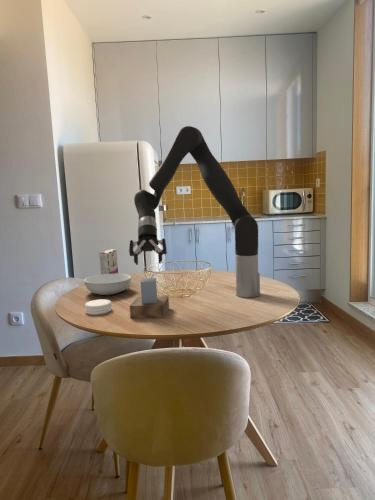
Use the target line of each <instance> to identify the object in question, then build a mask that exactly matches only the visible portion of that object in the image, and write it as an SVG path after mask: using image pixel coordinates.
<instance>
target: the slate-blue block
mask: <svg viewBox="0 0 375 500" xmlns="http://www.w3.org/2000/svg"><path fill="white" fill-rule="evenodd" d="M157 290H158V289H157V278H156V277H149V278H148V277H145V278H140V297H141V298H142V304H145V303H157V297H158V291H157Z"/></svg>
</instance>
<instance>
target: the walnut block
mask: <svg viewBox="0 0 375 500" xmlns="http://www.w3.org/2000/svg"><path fill="white" fill-rule="evenodd" d="M169 299H170V298H169V296H161V295H160V296H157V303H145V304H142V298H141V296H137V297H136V298H135V299H134V300H133V301H132V302H131V303H130V305H129V313H130V314H129V316H130V319H164V318H165V317H166V315H167V313H168V311H169V309H170V302H169V301H170V300H169Z"/></svg>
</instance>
